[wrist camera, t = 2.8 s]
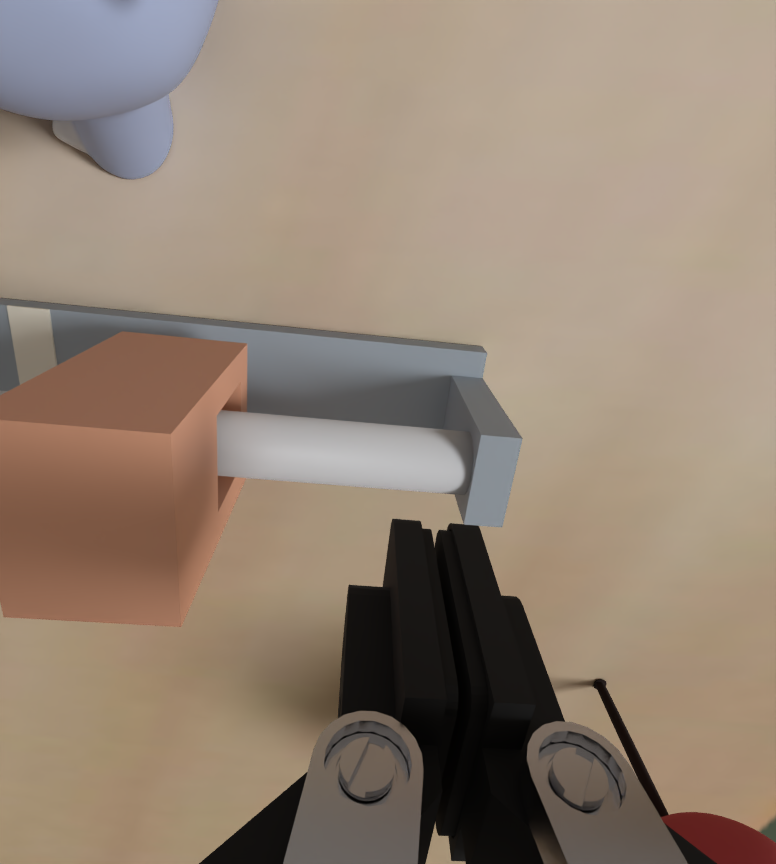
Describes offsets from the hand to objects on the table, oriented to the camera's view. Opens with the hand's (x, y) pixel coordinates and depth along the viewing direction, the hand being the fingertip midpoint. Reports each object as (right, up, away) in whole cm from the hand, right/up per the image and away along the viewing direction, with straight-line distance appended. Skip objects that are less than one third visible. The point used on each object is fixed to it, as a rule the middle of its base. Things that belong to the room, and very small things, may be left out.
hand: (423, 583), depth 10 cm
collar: (-8, +4, +8) cm, 12 cm away
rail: (-9, +5, +11) cm, 15 cm away
